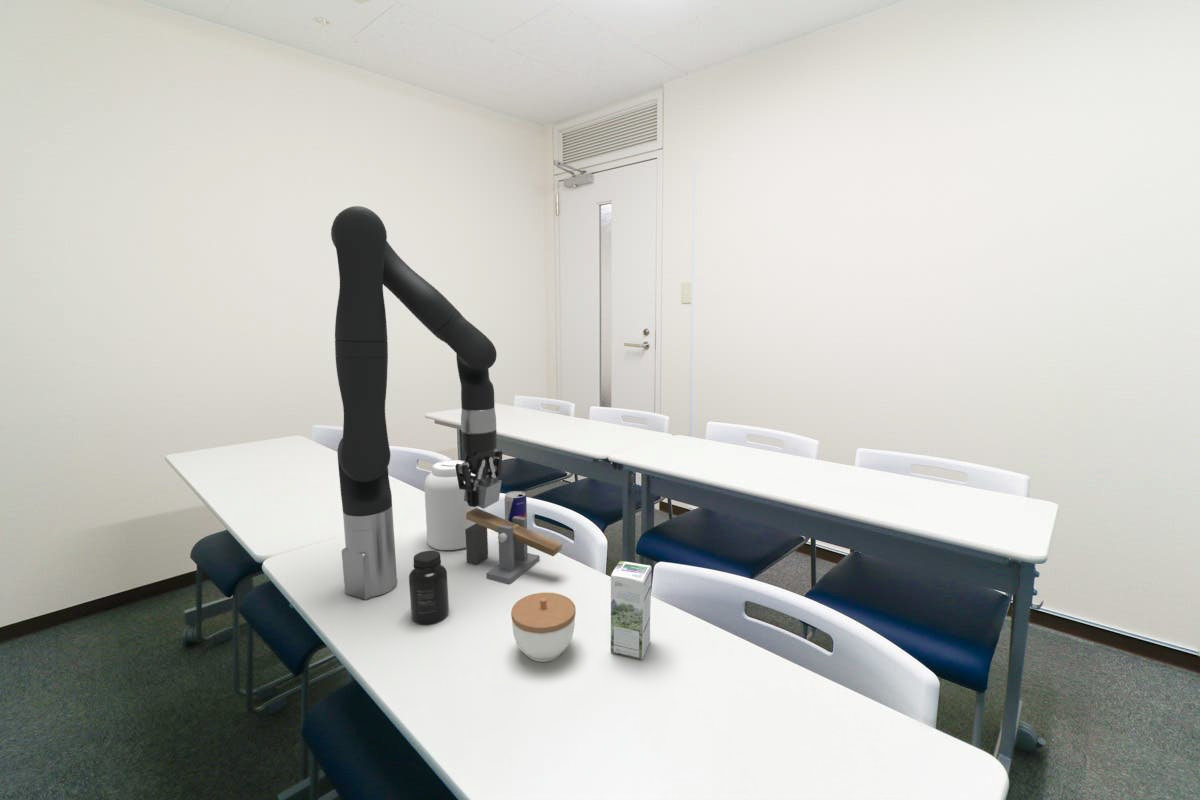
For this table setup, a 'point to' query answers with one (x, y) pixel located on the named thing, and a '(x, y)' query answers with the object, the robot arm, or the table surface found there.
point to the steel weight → (486, 491)
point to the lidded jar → (543, 625)
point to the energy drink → (515, 505)
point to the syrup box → (630, 609)
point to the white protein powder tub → (446, 507)
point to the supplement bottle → (428, 588)
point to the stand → (500, 551)
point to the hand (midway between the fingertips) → (481, 501)
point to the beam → (515, 531)
